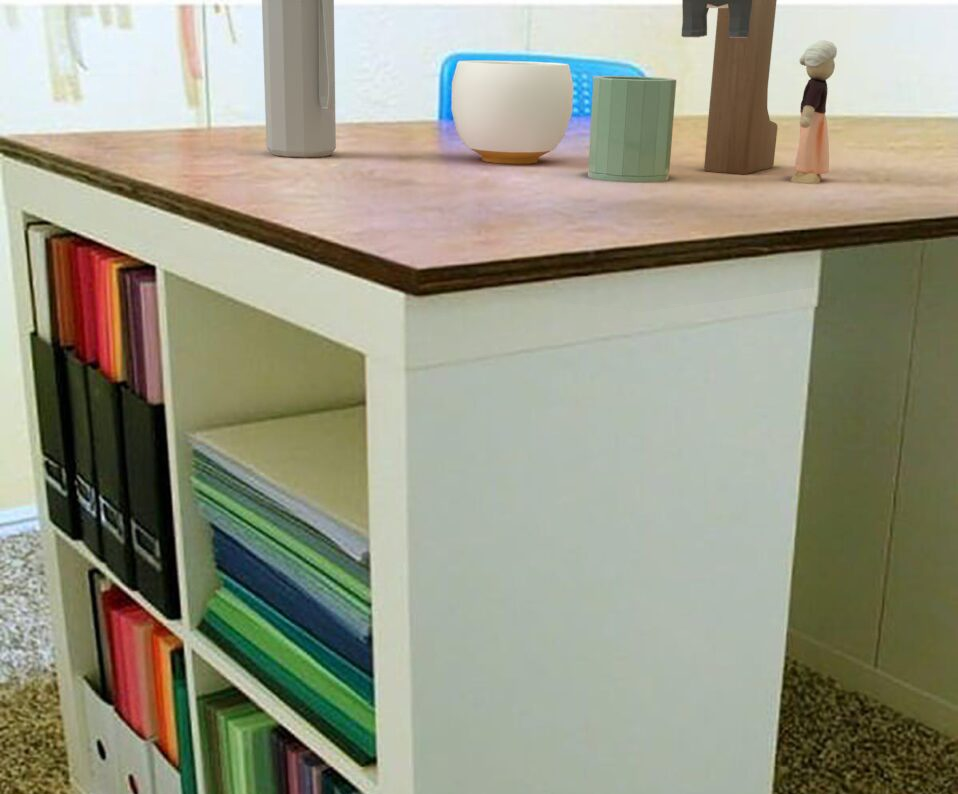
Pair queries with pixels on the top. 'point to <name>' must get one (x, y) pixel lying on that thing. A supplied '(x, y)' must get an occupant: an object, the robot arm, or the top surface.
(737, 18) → the giant panda
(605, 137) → the green cup
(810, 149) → the grandmother figurine
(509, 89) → the cup
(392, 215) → the top surface
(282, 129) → the water bottle
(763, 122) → the wooden block
